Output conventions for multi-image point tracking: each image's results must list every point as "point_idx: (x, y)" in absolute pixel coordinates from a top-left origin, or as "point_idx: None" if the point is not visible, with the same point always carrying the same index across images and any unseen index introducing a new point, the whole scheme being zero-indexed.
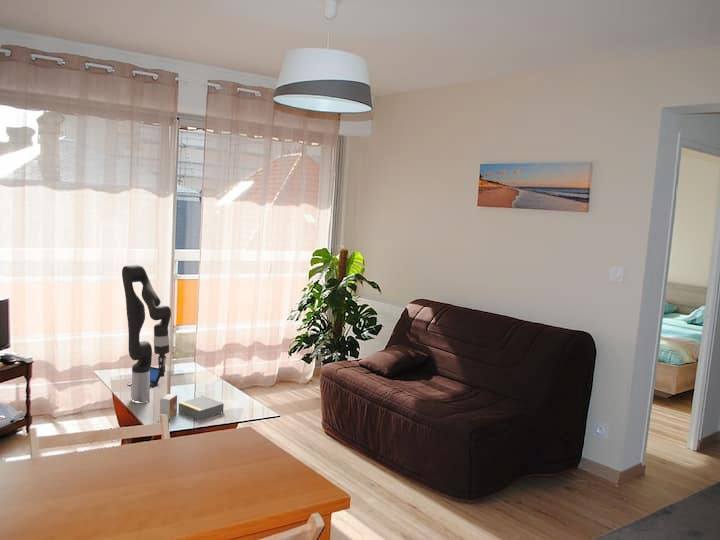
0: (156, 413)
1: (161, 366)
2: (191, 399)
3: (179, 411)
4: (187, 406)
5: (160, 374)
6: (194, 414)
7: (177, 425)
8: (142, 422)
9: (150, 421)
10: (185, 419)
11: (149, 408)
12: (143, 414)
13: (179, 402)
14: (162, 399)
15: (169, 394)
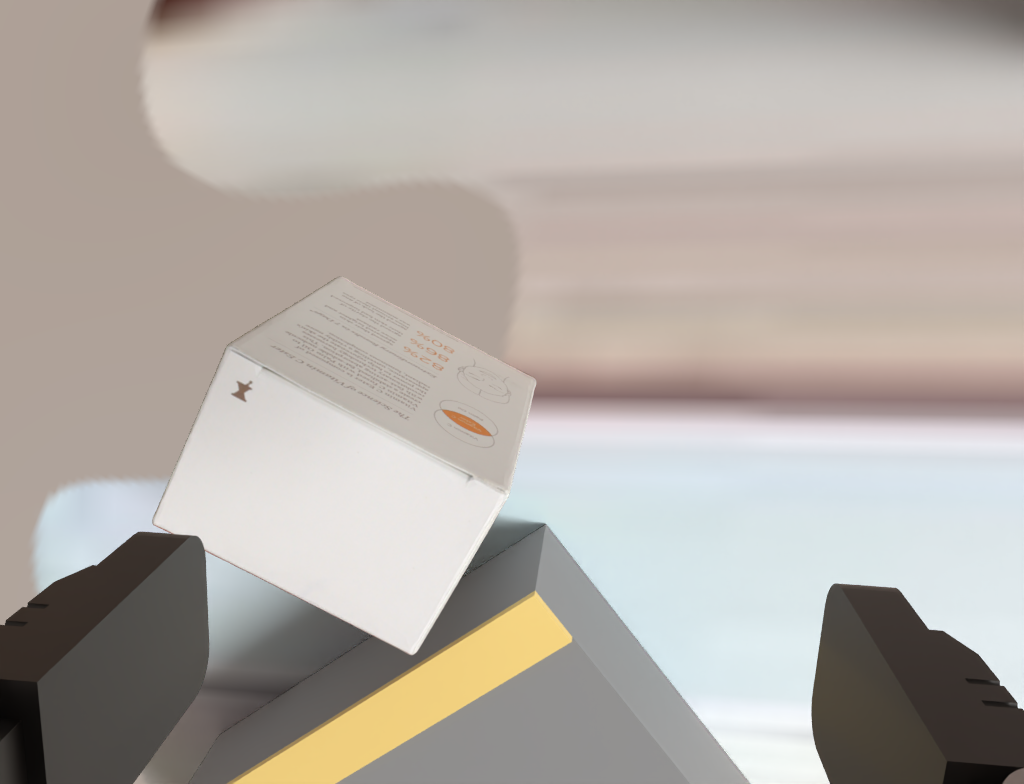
0: (538, 221)
1: (917, 751)
2: (669, 774)
3: (527, 541)
4: (361, 699)
5: (35, 597)
6: (265, 726)
7: (73, 493)
8: (188, 25)
9: (222, 144)
10: (267, 592)
11: (790, 100)
12: (523, 16)
13: (531, 606)
14: (209, 388)
15: (460, 526)
